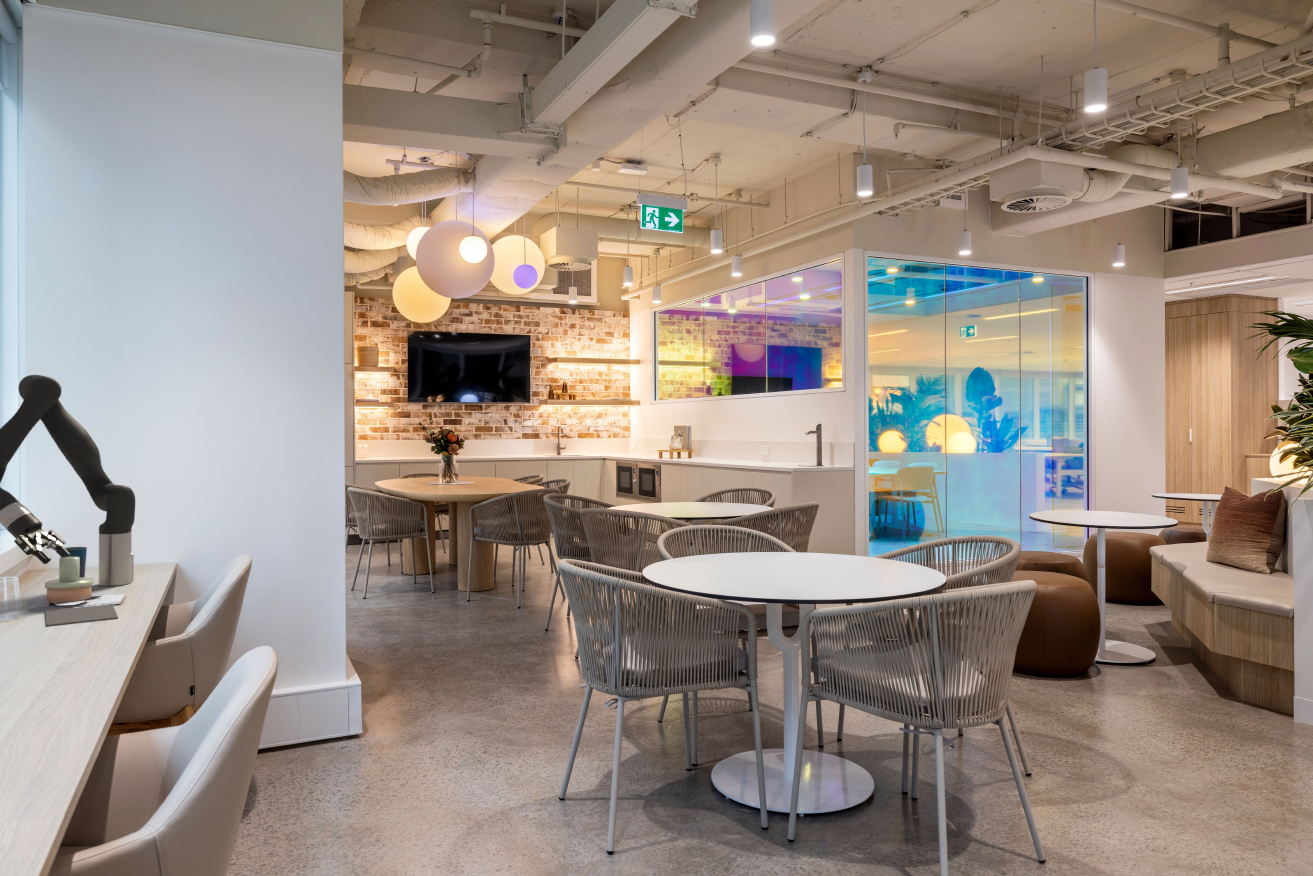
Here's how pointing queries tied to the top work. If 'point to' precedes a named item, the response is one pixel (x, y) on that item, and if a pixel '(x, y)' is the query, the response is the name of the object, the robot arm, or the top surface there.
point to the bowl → (69, 594)
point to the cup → (79, 553)
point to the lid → (69, 575)
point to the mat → (79, 614)
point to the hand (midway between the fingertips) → (58, 559)
